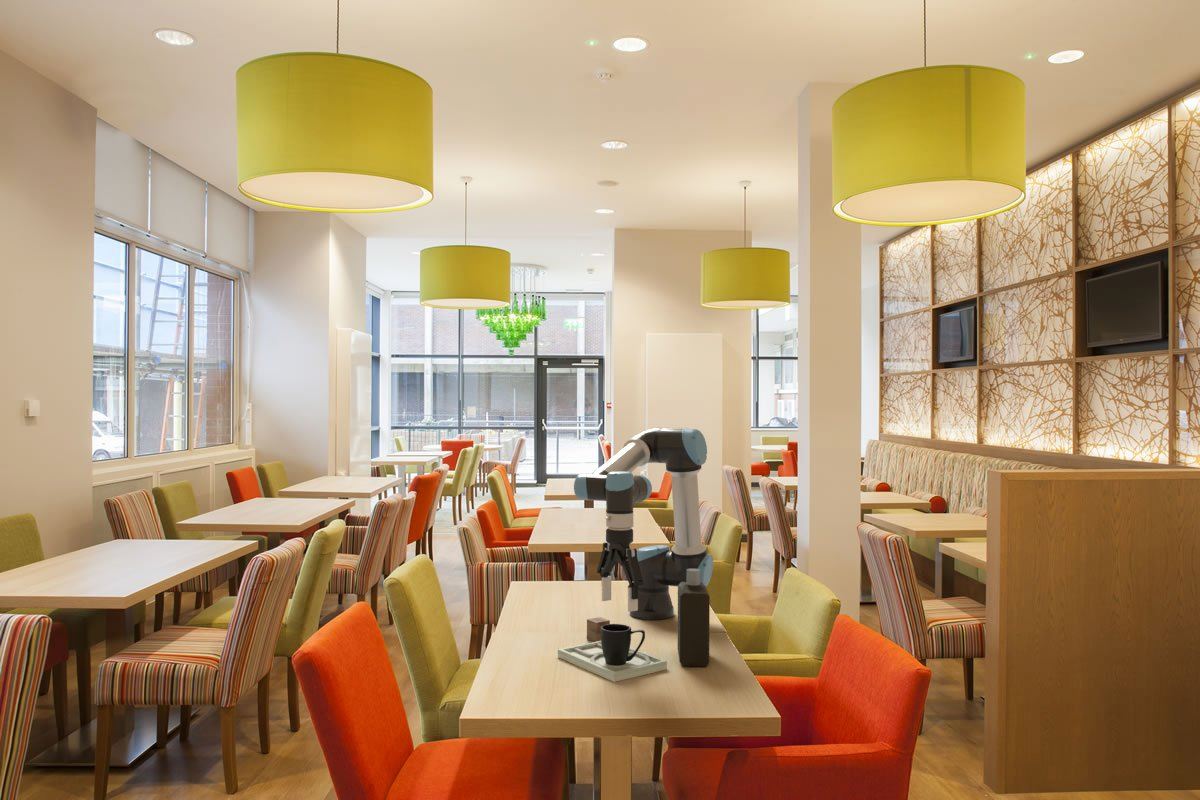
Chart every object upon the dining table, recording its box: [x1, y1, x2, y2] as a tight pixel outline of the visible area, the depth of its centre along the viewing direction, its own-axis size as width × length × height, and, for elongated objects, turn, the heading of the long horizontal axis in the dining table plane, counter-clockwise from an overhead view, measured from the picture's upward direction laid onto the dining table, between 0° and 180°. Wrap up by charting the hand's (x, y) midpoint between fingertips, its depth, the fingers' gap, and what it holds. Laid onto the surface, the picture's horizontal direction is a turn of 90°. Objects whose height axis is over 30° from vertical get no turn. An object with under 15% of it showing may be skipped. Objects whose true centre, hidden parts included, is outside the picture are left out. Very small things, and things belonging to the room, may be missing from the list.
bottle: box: [677, 568, 711, 668], centre depth 231 cm, size 8×16×25 cm, turn 177°
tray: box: [557, 641, 668, 683], centre depth 227 cm, size 18×26×2 cm
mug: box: [601, 623, 646, 666], centre depth 223 cm, size 8×12×10 cm
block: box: [586, 616, 611, 642], centre depth 250 cm, size 5×5×6 cm
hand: (619, 605), depth 226 cm, fingers open, 13 cm apart
